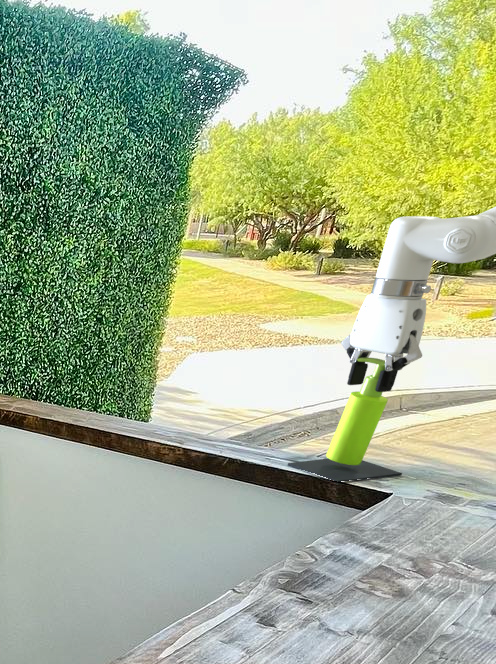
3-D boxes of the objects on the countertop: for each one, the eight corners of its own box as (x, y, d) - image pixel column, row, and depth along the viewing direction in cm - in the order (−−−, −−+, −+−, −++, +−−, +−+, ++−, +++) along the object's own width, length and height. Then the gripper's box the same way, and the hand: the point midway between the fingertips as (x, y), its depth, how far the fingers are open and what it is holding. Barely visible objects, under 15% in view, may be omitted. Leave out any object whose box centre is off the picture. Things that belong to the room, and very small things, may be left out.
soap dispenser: (326, 449, 156) (364, 353, 147) (365, 460, 151) (407, 362, 142) (315, 455, 152) (354, 358, 143) (355, 467, 148) (397, 367, 139)
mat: (348, 458, 159) (349, 455, 158) (401, 475, 149) (402, 473, 149) (287, 465, 155) (288, 462, 155) (337, 483, 145) (338, 480, 145)
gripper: (463, 293, 132) (429, 396, 139) (368, 283, 147) (342, 377, 154) (430, 295, 130) (397, 399, 137) (338, 285, 145) (313, 379, 152)
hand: (368, 386), depth 145 cm, fingers closed on soap dispenser, 4 cm apart
